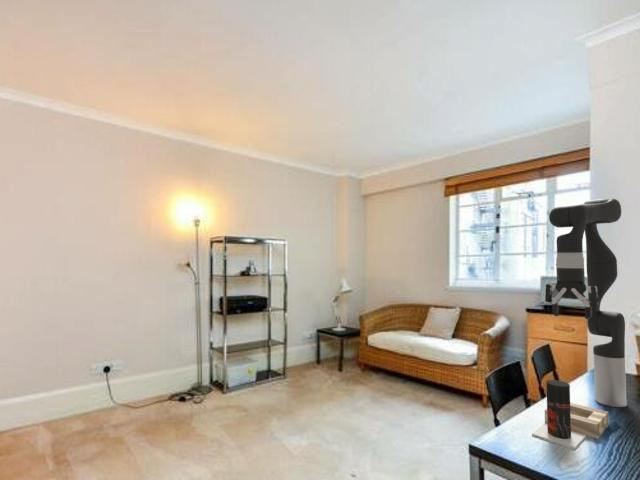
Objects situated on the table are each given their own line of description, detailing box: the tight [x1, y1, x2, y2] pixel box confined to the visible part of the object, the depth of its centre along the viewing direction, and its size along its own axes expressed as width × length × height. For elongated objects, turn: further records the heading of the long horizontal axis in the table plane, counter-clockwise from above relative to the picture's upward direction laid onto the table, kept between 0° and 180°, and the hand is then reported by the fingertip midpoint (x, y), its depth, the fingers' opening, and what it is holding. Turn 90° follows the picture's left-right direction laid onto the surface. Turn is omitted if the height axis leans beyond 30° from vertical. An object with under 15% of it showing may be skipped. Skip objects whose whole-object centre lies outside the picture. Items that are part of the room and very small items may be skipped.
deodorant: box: [545, 379, 571, 439], centre depth 112 cm, size 6×6×15 cm
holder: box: [544, 401, 610, 439], centre depth 121 cm, size 14×14×4 cm
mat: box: [531, 422, 587, 451], centre depth 112 cm, size 11×11×1 cm
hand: (571, 317), depth 121 cm, fingers open, 8 cm apart
